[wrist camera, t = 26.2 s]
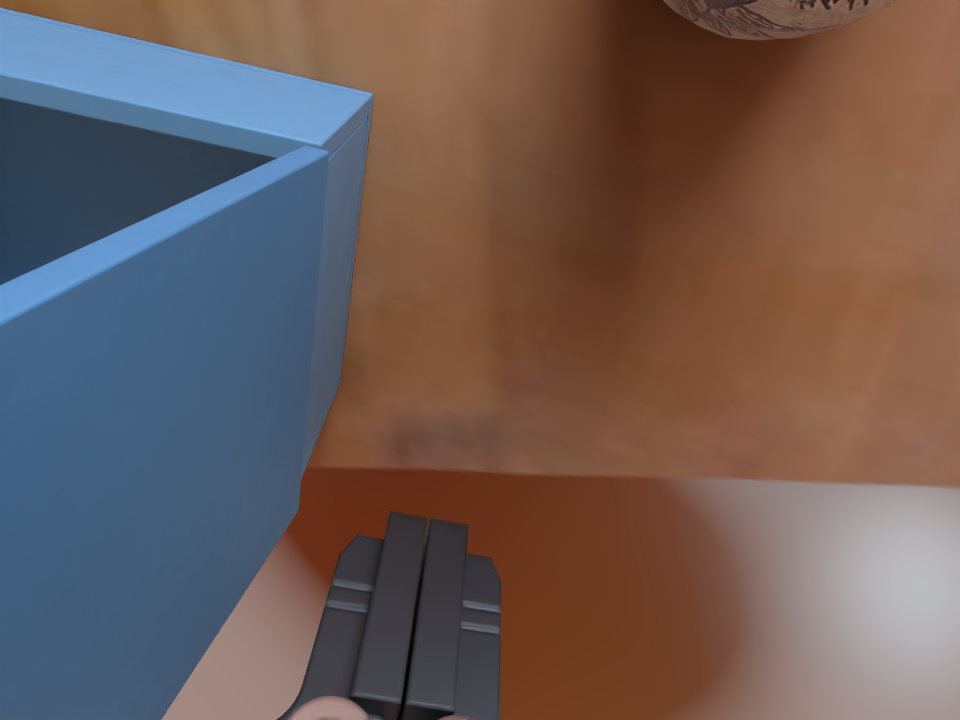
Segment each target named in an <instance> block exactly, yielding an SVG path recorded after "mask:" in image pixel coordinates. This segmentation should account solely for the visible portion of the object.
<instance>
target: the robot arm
mask: <svg viewBox="0 0 960 720" xmlns="http://www.w3.org/2000/svg"><path fill="white" fill-rule="evenodd" d="M426 527H427V518H426V517H421V516H415V515H409V514H403V513H397V512H392V511H390V515H389V520H388V525H387V529H386V534H385V538H384V540H383V539H378V538H372V537H366V536H360V535H356V537H355V538H354V539H353V540H352V541H351V542H350V543H349V545H348V546H347V547H346V548H345V549H344V550H343V551H342V552H341V554H340V555H339V558H338V561H337V565H336V568H335V572H334V576H333V579H332V583H331V586H330V589H329V593H328V596H327V600H326V604H325V607H324V611H323V614H322V617H321V621H320V624H319V628H318V632H317V635H316V639H315V642H314V646H313V649H312V653H311V657H310V660H309V663H308V667H307V670H306V674H305V677H304V681H303V684H302V687H301V690H300V692H299V694H298V696H297V698H296V700H295V702H294V703H293V704H292V706H291V707H290V708H289V709H288V710H287V711H286V712H285V713H284V714H283V715H282V716H281V717H280V718H278V719H277V720H500V717H499V703H500V701H499V700H500V698H499V697H500V626H501V625H500V623H501V614H500V609H501V581H500V579H499V576H498V574H497V572H496V569H495V567H494V565H493V562H492V560H491V558H489V557H483V556H478V555H471V554H466V552H467V538H468V525H467V524H461V523H456V522H450V521H444V520H439V519H433V518H431V519H430V522H429V526H428V530H427V535H426V539H425V533H426ZM424 541H425V543H424Z"/></svg>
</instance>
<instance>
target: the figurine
mask: <svg viewBox="0 0 960 720" xmlns="http://www.w3.org/2000/svg"><path fill="white" fill-rule="evenodd" d="M663 1H664V2H665V3H666V4H667V5H668V6H669V7H670V8H671V9H672V10H673V11H674V12H675V13H677V14H679V15H681V16H683V17H684V18H686V19H688V20H690V21H691V22H693V23H694V24H696V25H698V26H699V27H701V28H704V29H706V30H709V31H711V32H714V33H716V34H719V35H721V36H724V37H727V38H735V39H747V40H771V39H780V38H797V37H801V36H806V35H810V34H815V33H819V32H824V31H828V30H832V29H835V28H838V27H841V26H844V25H847V24H850V23H852V22H854V21H857V20H859V19H862V18H864V17H866V16H868V15H870V14H872V13H874V12H876V11H878V10H880V9H882V8H884V7H886V6H887V5H889V4H890V3H892V2H893V1H895V0H663Z"/></svg>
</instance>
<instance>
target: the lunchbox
mask: <svg viewBox="0 0 960 720" xmlns="http://www.w3.org/2000/svg"><path fill="white" fill-rule="evenodd" d="M372 104H373V94H372V93H369V92H365V91H360V90H356V89H352V88H347V87H343V86H339V85H334V84H330V83H325V82H321V81H317V80H312V79H308V78H304V77H299V76H295V75H291V74H286V73H282V72H278V71H273V70H269V69H264V68H260V67H256V66H251V65H247V64H243V63H238V62H234V61H230V60H225V59H221V58H217V57H212V56H208V55H203V54H199V53H195V52H190V51H186V50H182V49H177V48H173V47H169V46H164V45H160V44H156V43H151V42H147V41H142V40H138V39H134V38H129V37H125V36H121V35H116V34H112V33H108V32H103V31H99V30H95V29H90V28H86V27H81V26H77V25H73V24H68V23H64V22H60V21H55V20H51V19H47V18H42V17H38V16H34V15H29V14H25V13H20V12H16V11H12V10H7V9H3V8H0V285H2V284H4V283H6V282H8V281H10V280H13V279H15V278H17V277H19V276H21V275H24V274H26V273H28V272H30V271H32V270H35V269H37V268H39V267H41V266H43V265H45V264H48V263H50V262H52V261H54V260H56V259H59V258H61V257H63V256H65V255H67V254H69V253H72V252H74V251H76V250H78V249H80V248H83V247H85V246H87V245H89V244H91V243H93V242H96V241H98V240H100V239H102V238H104V237H107V236H109V235H111V234H113V233H115V232H118V231H120V230H122V229H124V228H126V227H128V226H131V225H133V224H135V223H137V222H139V221H142V220H144V219H146V218H148V217H150V216H152V215H155V214H157V213H159V212H161V211H163V210H166V209H168V208H170V207H172V206H174V205H176V204H179V203H181V202H183V201H185V200H187V199H190V198H192V197H194V196H196V195H198V194H201V193H203V192H205V191H207V190H209V189H211V188H214V187H216V186H218V185H220V184H222V183H225V182H227V181H229V180H231V179H233V178H235V177H238V176H240V175H242V174H244V173H246V172H249V171H251V170H253V169H255V168H257V167H259V166H262V165H264V164H266V163H268V162H270V161H273V160H275V159H277V158H279V157H281V156H284V155H286V154H288V153H290V152H292V151H294V150H297V149H299V148H301V147H303V146H311V147H314V148H318V149H321V150H325V151H327V152H329V161H328V173H327V184H326V196H325V207H324V219H323V231H322V242H321V254H320V265H319V277H318V289H317V300H316V312H315V323H314V335H313V347H312V358H311V370H310V381H309V393H308V405H307V416H306V428H305V439H304V451H303V463H302V474H301V478H302V476H303V474H304V471H305V469H306V466H307V464H308V461H309V459H310V456H311V454H312V451H313V449H314V446H315V444H316V441H317V439H318V437H319V434H320V432H321V429H322V427H323V424H324V422H325V419H326V417H327V414H328V412H329V409H330V407H331V404H332V402H333V399H334V397H335V394H336V392H337V390H338V387H339V385H340V379H341V371H342V362H343V353H344V345H345V336H346V328H347V319H348V310H349V302H350V293H351V285H352V276H353V268H354V259H355V250H356V242H357V233H358V225H359V216H360V207H361V199H362V190H363V182H364V173H365V165H366V156H367V147H368V139H369V130H370V122H371V113H372Z"/></svg>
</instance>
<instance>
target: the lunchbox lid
mask: <svg viewBox="0 0 960 720" xmlns="http://www.w3.org/2000/svg"><path fill="white" fill-rule="evenodd" d="M328 161H329V152H327V151H325V150H321V149H318V148H314V147H311V146H303V147H301V148H299V149H297V150H294V151H292V152H290V153H288V154H286V155H284V156H281V157H279V158H277V159H275V160H273V161H270V162H268V163H266V164H264V165H262V166H259V167H257V168H255V169H253V170H251V171H249V172H246V173H244V174H242V175H240V176H238V177H235V178H233V179H231V180H229V181H227V182H225V183H222V184H220V185H218V186H216V187H214V188H211V189H209V190H207V191H205V192H203V193H201V194H198V195H196V196H194V197H192V198H190V199H187V200H185V201H183V202H181V203H179V204H176V205H174V206H172V207H170V208H168V209H166V210H163V211H161V212H159V213H157V214H155V215H152V216H150V217H148V218H146V219H144V220H142V221H139V222H137V223H135V224H133V225H131V226H128V227H126V228H124V229H122V230H120V231H118V232H115V233H113V234H111V235H109V236H107V237H104V238H102V239H100V240H98V241H96V242H93V243H91V244H89V245H87V246H85V247H83V248H80V249H78V250H76V251H74V252H72V253H69V254H67V255H65V256H63V257H61V258H59V259H56V260H54V261H52V262H50V263H48V264H45V265H43V266H41V267H39V268H37V269H35V270H32V271H30V272H28V273H26V274H24V275H21V276H19V277H17V278H15V279H13V280H10V281H8V282H6V283H4V284H2V285H0V720H161V719H162V718H163V716H164V714H165V713H166V711H167V710H168V708H169V707H170V705H171V704H172V702H173V701H174V699H175V698H176V696H177V694H178V693H179V692H180V690H181V689H182V687H183V686H184V684H185V682H186V681H187V679H188V678H189V676H190V675H191V673H192V672H193V670H194V669H195V667H196V666H197V664H198V663H199V661H200V660H201V658H202V657H203V655H204V653H205V652H206V651H207V649H208V647H209V646H210V644H211V643H212V641H213V640H214V638H215V637H216V635H217V634H218V632H219V631H220V629H221V627H222V626H223V625H224V623H225V621H226V620H227V619H228V617H229V615H230V614H231V612H232V611H233V609H234V608H235V606H236V605H237V603H238V602H239V600H240V599H241V597H242V596H243V594H244V593H245V591H246V589H247V588H248V587H249V585H250V583H251V582H252V580H253V579H254V577H255V576H256V574H257V573H258V571H259V570H260V568H261V567H262V565H263V564H264V562H265V561H266V559H267V558H268V556H269V555H270V553H271V551H272V550H273V548H274V547H275V545H276V544H277V542H278V541H279V539H280V538H281V536H282V534H283V533H284V532H285V530H286V528H287V527H288V526H289V524H290V523H291V521H292V519H293V518H294V516H295V515H296V513H297V512H298V508H299V497H300V485H301V474H302V463H303V451H304V439H305V428H306V416H307V405H308V393H309V381H310V370H311V358H312V347H313V335H314V323H315V312H316V300H317V289H318V277H319V265H320V254H321V242H322V231H323V219H324V207H325V196H326V184H327V173H328Z"/></svg>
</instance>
